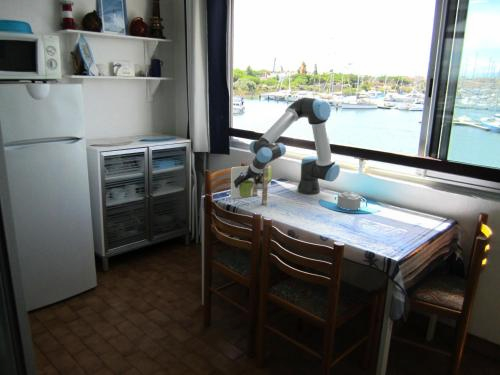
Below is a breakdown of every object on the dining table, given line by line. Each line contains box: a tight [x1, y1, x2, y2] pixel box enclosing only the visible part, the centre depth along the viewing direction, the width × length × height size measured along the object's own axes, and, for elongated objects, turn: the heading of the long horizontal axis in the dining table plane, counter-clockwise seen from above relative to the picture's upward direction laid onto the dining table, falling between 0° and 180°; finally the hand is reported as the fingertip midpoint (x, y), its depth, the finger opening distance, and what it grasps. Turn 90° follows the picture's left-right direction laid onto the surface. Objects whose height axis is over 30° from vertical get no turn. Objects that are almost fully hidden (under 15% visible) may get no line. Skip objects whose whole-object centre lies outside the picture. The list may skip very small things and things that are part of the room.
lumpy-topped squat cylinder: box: [336, 191, 362, 211], centre depth 240 cm, size 10×13×9 cm
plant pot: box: [239, 180, 253, 198], centre depth 240 cm, size 9×9×9 cm
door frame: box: [253, 163, 269, 206], centre depth 248 cm, size 21×2×24 cm, turn 17°
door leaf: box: [230, 165, 254, 199], centre depth 252 cm, size 15×3×19 cm, turn 117°
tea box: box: [248, 164, 273, 190], centre depth 278 cm, size 15×10×15 cm
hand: (242, 188), depth 242 cm, fingers closed on plant pot, 9 cm apart
